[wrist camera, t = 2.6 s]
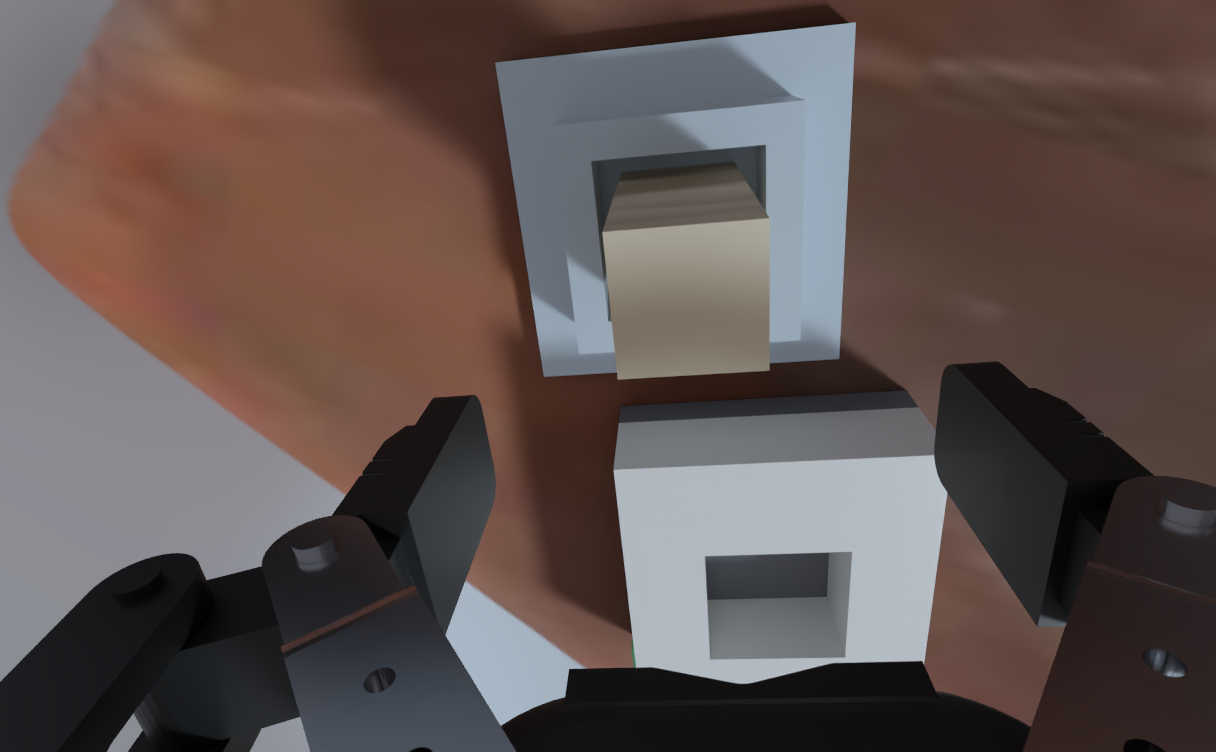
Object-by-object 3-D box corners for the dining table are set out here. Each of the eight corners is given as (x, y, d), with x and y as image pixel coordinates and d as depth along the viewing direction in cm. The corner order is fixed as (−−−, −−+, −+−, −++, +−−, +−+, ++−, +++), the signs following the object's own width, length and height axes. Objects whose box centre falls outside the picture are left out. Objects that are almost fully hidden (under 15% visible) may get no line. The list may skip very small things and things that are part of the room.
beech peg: (621, 171, 25) (602, 232, 17) (733, 161, 24) (770, 218, 16) (631, 278, 26) (617, 379, 18) (735, 269, 26) (769, 370, 18)
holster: (500, 62, 24) (477, 64, 21) (849, 23, 23) (877, 19, 20) (546, 368, 29) (533, 405, 26) (834, 350, 28) (855, 387, 25)
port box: (613, 406, 30) (605, 470, 25) (906, 390, 28) (952, 454, 24) (639, 641, 36) (636, 726, 31) (882, 637, 34) (915, 725, 30)
